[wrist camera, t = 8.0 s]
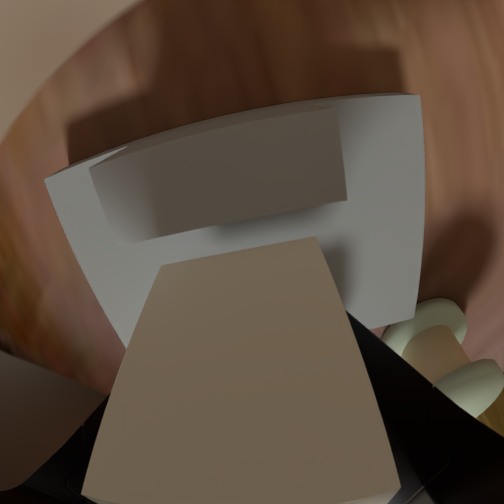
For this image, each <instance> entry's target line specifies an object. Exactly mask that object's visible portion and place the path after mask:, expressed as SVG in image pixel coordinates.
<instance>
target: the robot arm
mask: <svg viewBox="0 0 504 504" xmlns="http://www.w3.org/2000/svg"><path fill="white" fill-rule="evenodd" d="M345 311H346V310H345ZM346 314H347V316H348V319H349V322H350V325H351V327H352V330H353V333H354V336H355V338H356V341H357V344H358V347H359V350H360V352H361V355H362V358H363V361H364V364H365V367H366V370H367V373H368V376H369V379H370V382H371V385H372V388H373V391H374V394H375V397H376V401H377V404H378V407H379V410H380V413H381V417H382V420H383V423H384V427H385V430H386V433H387V437H388V440H389V444H390V447H391V451H392V455H393V458H394V462H395V466H396V469H397V473H398V477H399V481H400V485H401V488H400V489H399V490H398V492H397V493H396V494H395V495H394V497H393V498H392V499H391V500H390V501H389V502H388V504H504V437H503V436H502V435H500V434H499V433H497V432H496V431H494V430H493V429H491V428H490V427H488V426H487V425H485V424H484V423H482V422H481V421H479V420H478V419H476V418H475V417H473V416H472V415H471V414H469V413H468V412H466V411H465V410H464V409H462V408H461V407H460V406H458V405H457V404H456V403H455V402H453V401H452V400H451V399H450V398H449V397H447V396H446V395H445V394H444V393H443V392H441V391H440V390H439V389H438V388H437V387H436V386H434V387H433V384H432V383H431V382H430V381H429V380H427V379H426V378H425V377H424V376H423V375H422V374H421V373H419V372H418V371H417V370H416V369H415V368H414V367H412V366H411V365H410V364H409V363H408V362H407V361H405V360H404V359H403V358H402V357H401V356H400V355H398V354H397V353H396V352H395V351H394V350H393V349H391V348H390V347H389V346H388V345H387V344H385V343H384V342H383V341H382V340H381V339H380V338H378V337H377V336H376V335H375V334H374V333H373V332H371V331H370V330H369V329H368V328H367V327H365V326H364V325H363V324H362V323H361V322H359V321H358V320H357V319H356V318H355V317H354V316H352V315H351V314H350V313H349V312H348V311H346ZM110 394H111V393H110ZM110 394H109V395H108V396H107V397H106V398H105V399H104V401H103V402H102V403H101V404H100V405H99V406H98V407H97V408H96V410H95V411H94V412H93V413H92V414H91V415H90V416H89V417H88V418H87V420H86V421H85V422H84V423H83V425H81V426H80V427H79V428H78V429H77V431H76V432H75V433H74V434H73V435H72V436H71V437H70V438H69V439H68V440H67V441H66V443H64V445H63V446H62V447H61V448H60V449H59V450H58V451H56V453H54V454H53V455H52V456H51V457H50V458H49V460H47V461H46V462H45V463H44V464H43V465H42V466H41V467H40V468H38V469H37V470H36V471H35V472H34V473H33V474H32V475H31V476H30V477H29V478H27V479H26V480H25V481H24V482H23V483H21V484H20V485H18V486H16V487H14V488H12V489H9V490H4V491H0V504H98V503H96V502H94V501H92V500H90V499H88V498H87V497H85V496H83V495H81V492H82V488H83V484H84V480H85V477H86V473H87V469H88V465H89V462H90V458H91V455H92V451H93V448H94V444H95V441H96V438H97V434H98V431H99V428H100V425H101V422H102V418H103V415H104V412H105V409H106V406H107V403H108V400H109V397H110Z"/></svg>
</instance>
